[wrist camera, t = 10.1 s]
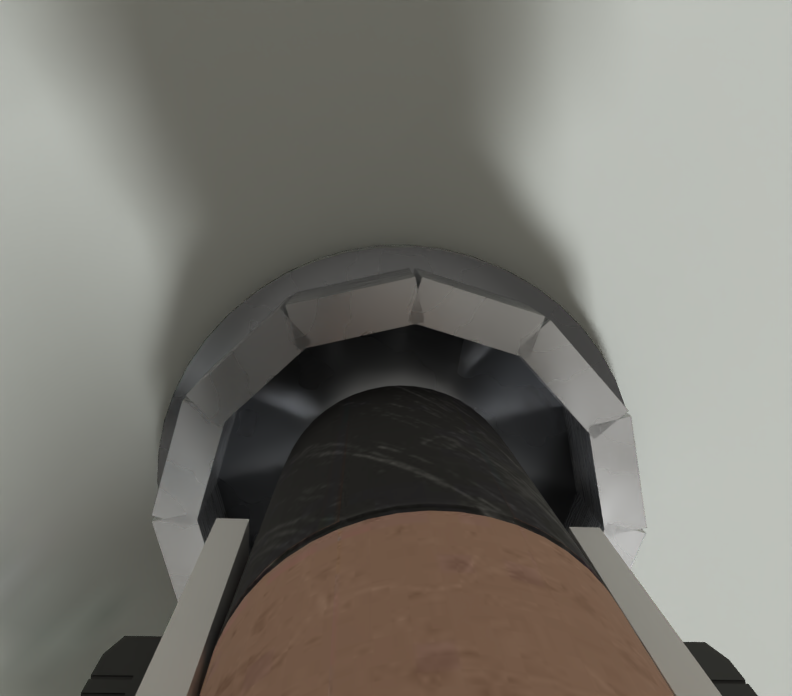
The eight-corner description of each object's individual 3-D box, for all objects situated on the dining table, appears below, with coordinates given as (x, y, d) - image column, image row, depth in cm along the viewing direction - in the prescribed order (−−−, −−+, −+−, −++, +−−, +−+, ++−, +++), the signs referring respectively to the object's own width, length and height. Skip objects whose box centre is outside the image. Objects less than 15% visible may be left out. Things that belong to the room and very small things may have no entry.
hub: (68, 464, 21) (11, 515, 18) (416, 139, 20) (427, 126, 16) (383, 746, 24) (386, 836, 21) (709, 483, 22) (771, 533, 19)
